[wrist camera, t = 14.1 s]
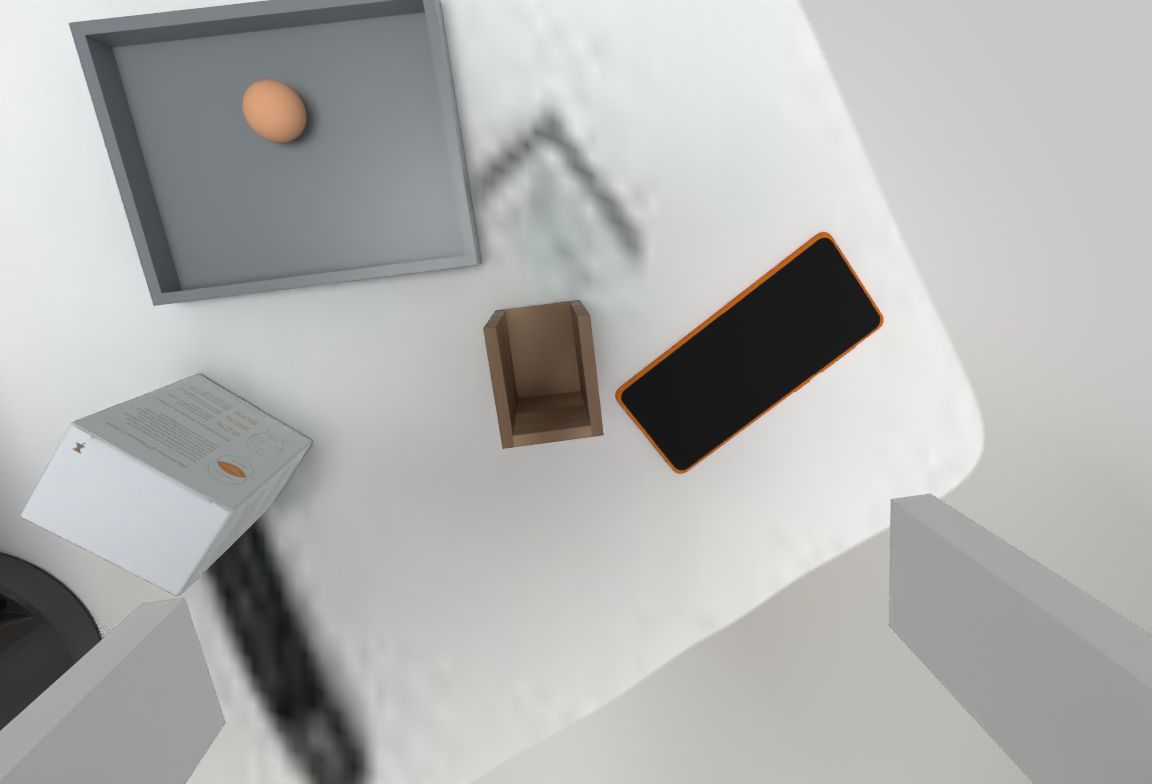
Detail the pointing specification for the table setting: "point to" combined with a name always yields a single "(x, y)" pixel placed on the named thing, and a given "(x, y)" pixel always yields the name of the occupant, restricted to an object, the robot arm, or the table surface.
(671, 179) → the table surface
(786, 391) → the smartphone
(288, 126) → the ball
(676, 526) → the table surface
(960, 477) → the table surface
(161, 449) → the small box
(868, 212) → the table surface
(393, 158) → the tray
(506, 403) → the brown wooden bin
